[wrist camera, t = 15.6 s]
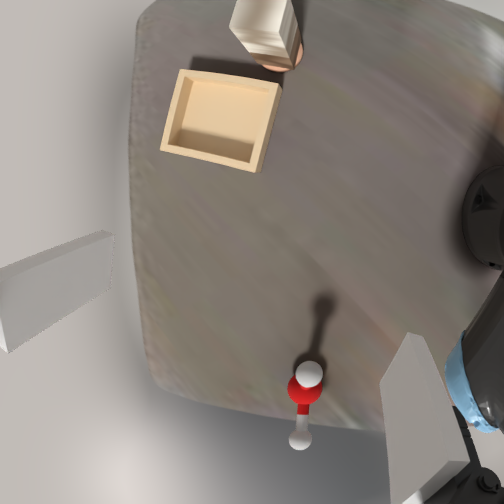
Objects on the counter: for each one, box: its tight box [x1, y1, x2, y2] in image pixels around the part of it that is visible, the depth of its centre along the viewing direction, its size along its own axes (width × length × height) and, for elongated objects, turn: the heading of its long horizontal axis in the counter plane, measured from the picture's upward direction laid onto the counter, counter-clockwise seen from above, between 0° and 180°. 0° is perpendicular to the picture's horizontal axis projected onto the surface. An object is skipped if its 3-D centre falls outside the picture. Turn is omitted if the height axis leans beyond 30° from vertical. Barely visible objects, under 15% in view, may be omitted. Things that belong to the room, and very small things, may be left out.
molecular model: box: [288, 361, 323, 450], centre depth 44 cm, size 18×6×10 cm, turn 5°
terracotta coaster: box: [262, 43, 303, 72], centre depth 36 cm, size 6×6×1 cm
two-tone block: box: [229, 0, 301, 70], centre depth 30 cm, size 5×5×13 cm
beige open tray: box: [160, 69, 282, 173], centre depth 40 cm, size 14×12×4 cm
